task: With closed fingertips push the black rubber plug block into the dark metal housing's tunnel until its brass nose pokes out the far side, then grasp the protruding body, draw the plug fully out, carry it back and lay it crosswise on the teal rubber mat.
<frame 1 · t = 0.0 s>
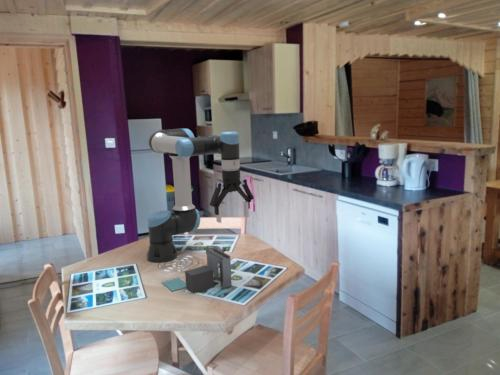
hand: (233, 219, 174), 28 cm above the table, fingers open, 13 cm apart
housing: (219, 281, 180), on the table
mat: (175, 284, 178), on the table
mechanical component: (215, 267, 197), on the table
plug: (200, 288, 174), on the table
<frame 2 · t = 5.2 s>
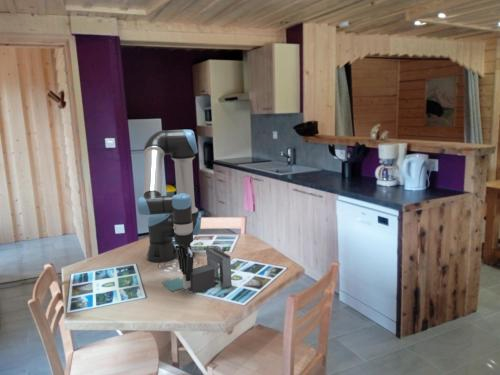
hand: (187, 287, 171), 2 cm above the table, fingers closed
plug: (201, 287, 175), on the table, touching gripper
everything else where it was.
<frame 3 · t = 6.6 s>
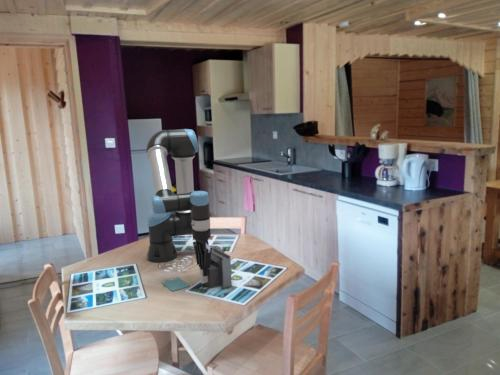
hand: (204, 282, 175), 2 cm above the table, fingers closed
plug: (217, 282, 179), on the table, touching gripper
everything else where it was.
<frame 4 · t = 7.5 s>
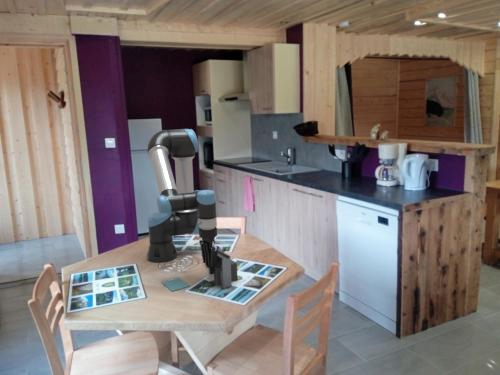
hand: (210, 280, 177), 2 cm above the table, fingers closed
plug: (224, 280, 181), on the table, touching gripper
everything else where it was.
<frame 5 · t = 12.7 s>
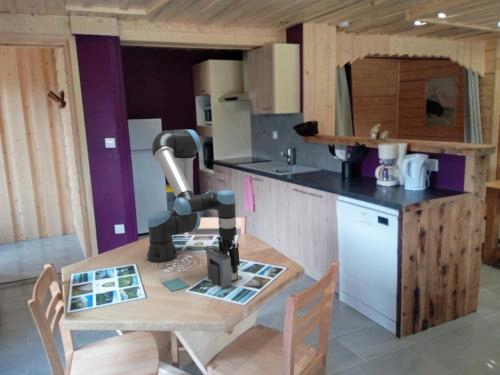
hand: (229, 276, 182), 1 cm above the table, fingers closed on plug, 6 cm apart
plug: (224, 280, 181), on the table, touching gripper
everything else where it was.
when the fingers open (2 cm above the table, at t = 21.3 s): plug drops 1 cm, resting on mat.
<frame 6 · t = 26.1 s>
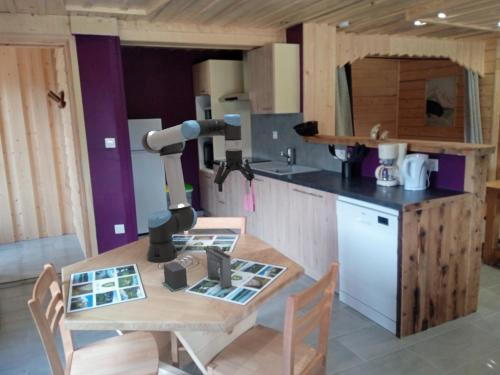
hand: (235, 196, 187), 35 cm above the table, fingers open, 13 cm apart
plug: (175, 284, 178), resting on mat
everything else where it was.
at the end: plug inside the target area on the mat (0.1 cm from its centre), point 0.4 cm above the mat's base; the gripper is holding nothing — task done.
